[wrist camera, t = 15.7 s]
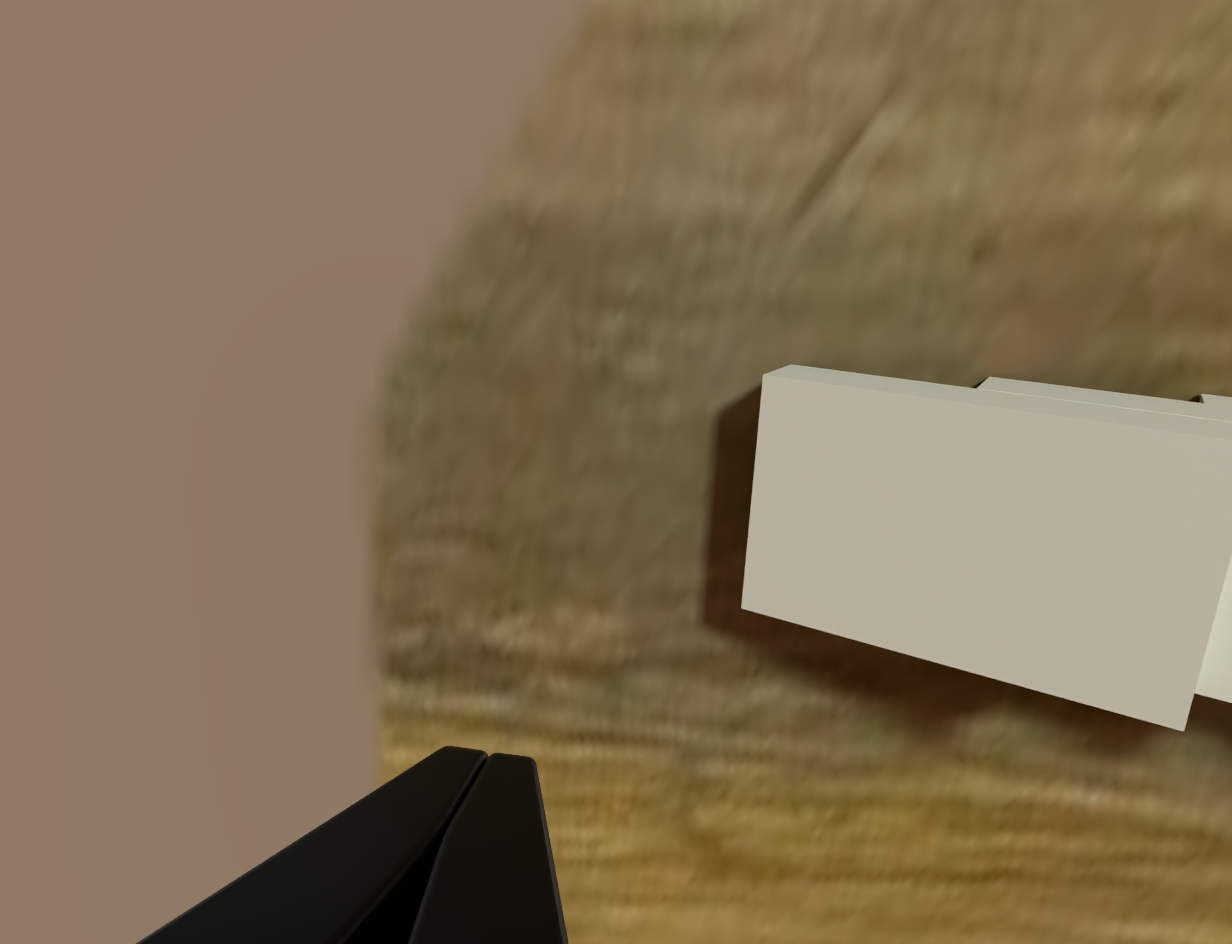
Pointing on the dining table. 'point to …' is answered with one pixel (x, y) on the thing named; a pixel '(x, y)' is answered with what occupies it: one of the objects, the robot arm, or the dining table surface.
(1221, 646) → the domino
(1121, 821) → the dining table surface
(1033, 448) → the domino
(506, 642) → the dining table surface
